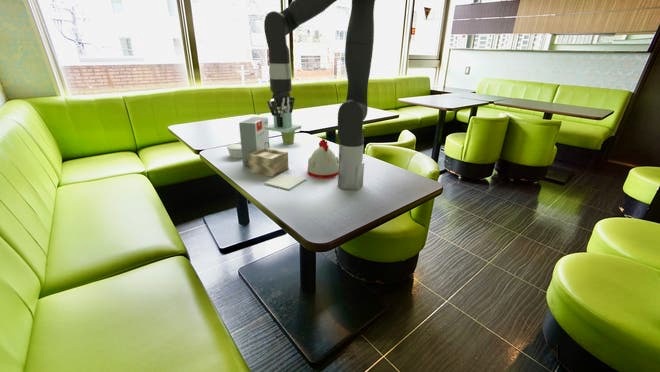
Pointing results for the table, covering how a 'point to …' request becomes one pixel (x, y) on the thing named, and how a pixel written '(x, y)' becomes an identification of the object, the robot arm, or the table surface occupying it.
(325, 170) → the kitchen timer
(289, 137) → the plant pot
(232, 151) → the ramekin
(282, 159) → the crate
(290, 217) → the table surface
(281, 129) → the lid
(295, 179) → the mat
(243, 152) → the hard drive box
